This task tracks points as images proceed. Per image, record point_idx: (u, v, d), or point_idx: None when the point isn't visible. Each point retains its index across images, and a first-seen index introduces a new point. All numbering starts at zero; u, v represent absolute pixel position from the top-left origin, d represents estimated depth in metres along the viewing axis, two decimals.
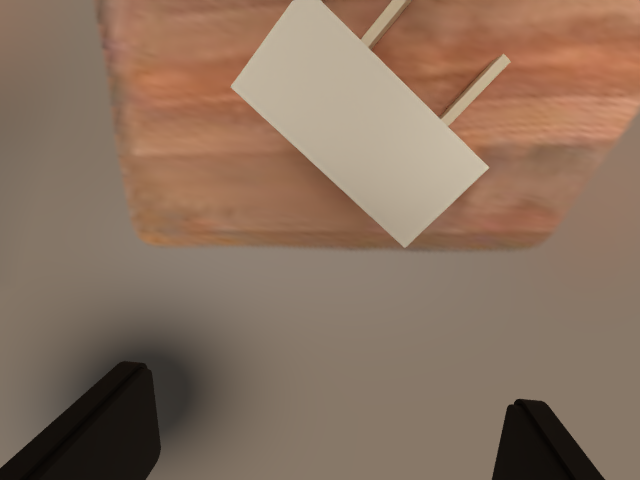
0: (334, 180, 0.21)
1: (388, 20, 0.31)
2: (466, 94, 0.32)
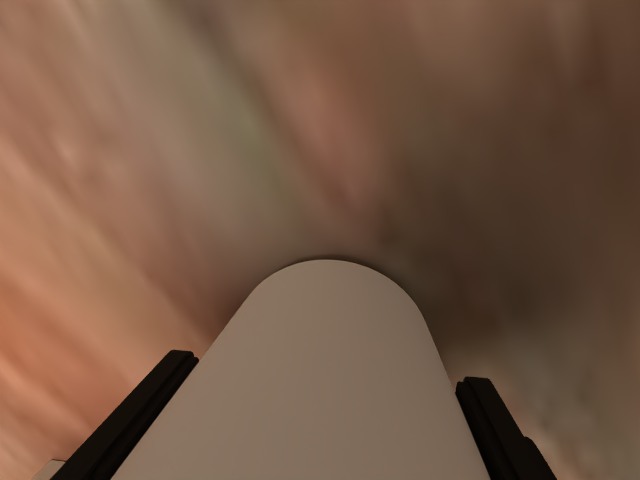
0: None
1: None
2: None
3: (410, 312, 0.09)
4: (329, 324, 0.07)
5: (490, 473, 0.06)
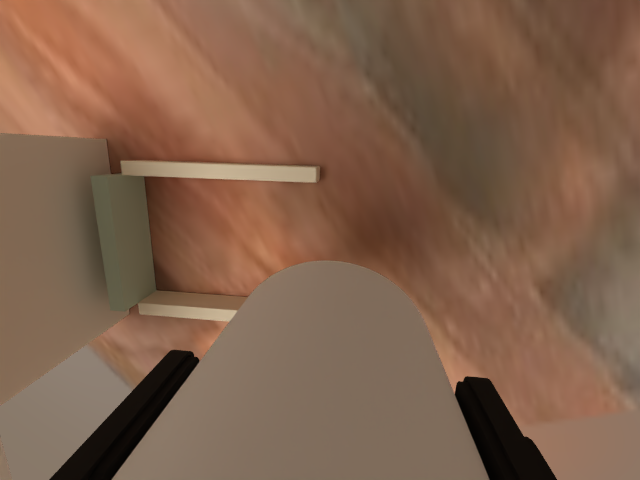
0: None
1: (246, 178, 0.23)
2: None
3: (410, 313, 0.09)
4: (329, 326, 0.07)
5: (490, 473, 0.06)
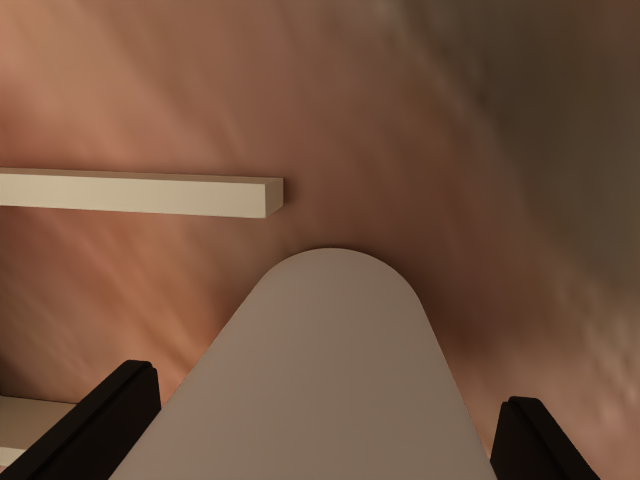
0: None
1: (112, 207, 0.10)
2: None
3: (408, 294, 0.10)
4: (335, 299, 0.08)
5: None
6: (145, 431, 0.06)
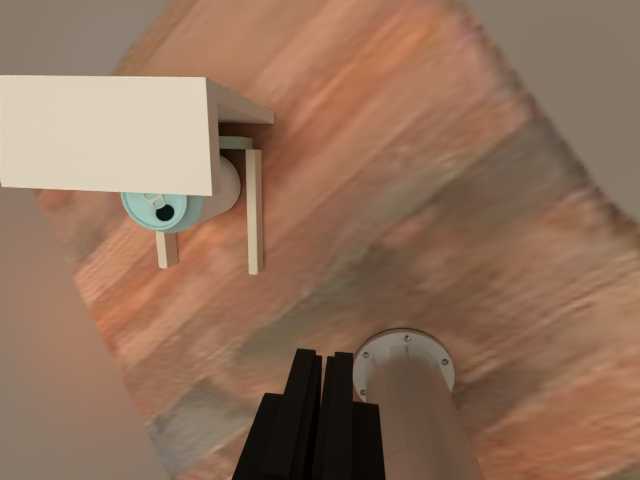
0: (71, 78, 0.20)
1: (248, 233, 0.37)
2: None
3: (229, 206, 0.37)
4: (226, 190, 0.33)
5: None
6: None
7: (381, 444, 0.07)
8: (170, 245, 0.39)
